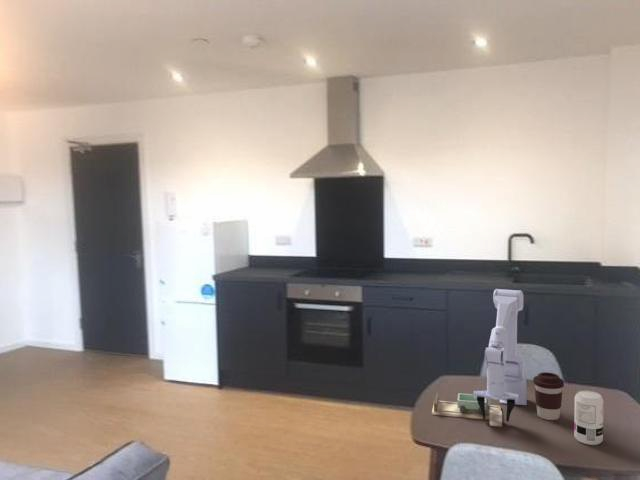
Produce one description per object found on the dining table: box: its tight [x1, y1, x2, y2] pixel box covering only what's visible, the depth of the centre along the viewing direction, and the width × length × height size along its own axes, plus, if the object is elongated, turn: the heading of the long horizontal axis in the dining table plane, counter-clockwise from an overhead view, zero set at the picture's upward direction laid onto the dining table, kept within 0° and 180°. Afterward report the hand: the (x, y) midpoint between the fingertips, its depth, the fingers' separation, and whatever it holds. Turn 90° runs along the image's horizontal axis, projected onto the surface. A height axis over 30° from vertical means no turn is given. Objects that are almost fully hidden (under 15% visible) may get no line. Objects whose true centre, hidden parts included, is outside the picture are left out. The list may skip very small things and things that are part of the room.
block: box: [489, 410, 503, 427], centre depth 181 cm, size 4×4×4 cm
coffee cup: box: [532, 372, 565, 421], centre depth 185 cm, size 10×10×15 cm
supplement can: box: [573, 389, 604, 446], centre depth 167 cm, size 8×8×15 cm
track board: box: [431, 392, 502, 421], centre depth 192 cm, size 24×11×4 cm, turn 73°
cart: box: [457, 392, 491, 414], centre depth 191 cm, size 11×9×4 cm
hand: (495, 419), depth 181 cm, fingers open, 7 cm apart
